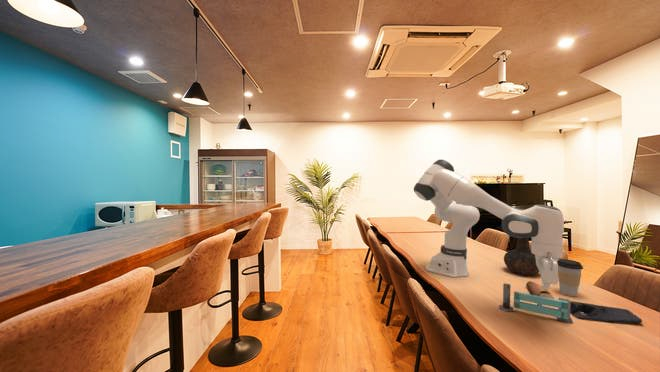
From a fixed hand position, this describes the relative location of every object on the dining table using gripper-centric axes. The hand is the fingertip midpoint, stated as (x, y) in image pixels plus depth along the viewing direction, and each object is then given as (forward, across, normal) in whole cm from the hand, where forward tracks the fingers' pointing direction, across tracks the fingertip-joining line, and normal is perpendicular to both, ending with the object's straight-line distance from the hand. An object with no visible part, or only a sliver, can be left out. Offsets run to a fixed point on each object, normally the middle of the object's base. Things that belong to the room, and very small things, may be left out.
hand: (545, 287), depth 95 cm
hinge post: (+13, +5, +12) cm, 18 cm away
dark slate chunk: (+14, +21, -19) cm, 31 cm away
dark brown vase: (+14, +61, +2) cm, 63 cm away
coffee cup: (+14, +39, -13) cm, 43 cm away
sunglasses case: (+14, +29, -2) cm, 33 cm away
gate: (+12, +5, +1) cm, 13 cm away
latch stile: (+13, +8, -6) cm, 17 cm away
